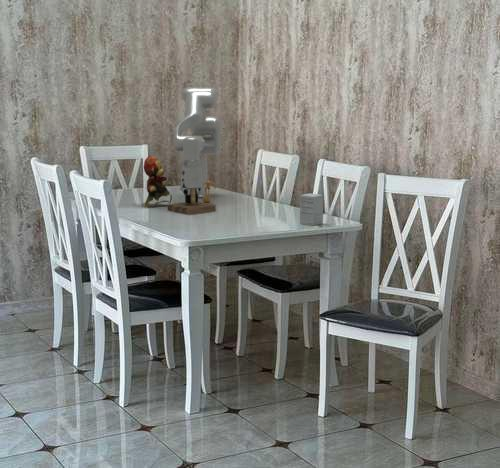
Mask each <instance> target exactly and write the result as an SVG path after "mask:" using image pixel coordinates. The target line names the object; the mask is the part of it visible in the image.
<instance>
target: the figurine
mask: <svg viewBox="0 0 500 468" xmlns="http://www.w3.org/2000/svg"><path fill="white" fill-rule="evenodd" d="M204 184H206V186H207V187H205V193H206V194H207V193H208V195H206V194H205V196H204V197H202V201H203V203H208V204H209V203H210V202H211V200H212V198H211V195H210V196H209V193H210V192H211V185H213V187H214V189H216V188H217V187H216V184H215V183H214V182H212V181H210V180H209V179H208V178H207V182H205V183H203V185H204ZM206 190H207V192H206Z"/></svg>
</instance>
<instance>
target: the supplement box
mask: <svg viewBox="0 0 500 468" xmlns="http://www.w3.org/2000/svg"><path fill="white" fill-rule="evenodd" d="M299 196H300V197H299V224H300V225H305V226H311V225H313V226H318V225H321V224H323V222H324V221H323V220H324V218H323V217H324V213H323V212H324V195H323V194H318V193H311V192H309V193H304V194H301V195H300V194H299Z"/></svg>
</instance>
